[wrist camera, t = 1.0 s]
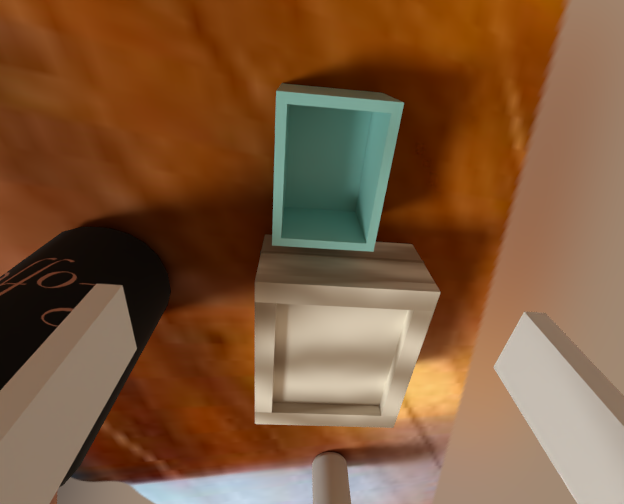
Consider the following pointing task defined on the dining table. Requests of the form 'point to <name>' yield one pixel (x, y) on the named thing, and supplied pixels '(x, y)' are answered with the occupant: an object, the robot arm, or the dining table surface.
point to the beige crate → (338, 333)
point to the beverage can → (330, 479)
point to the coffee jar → (78, 298)
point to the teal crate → (331, 165)
